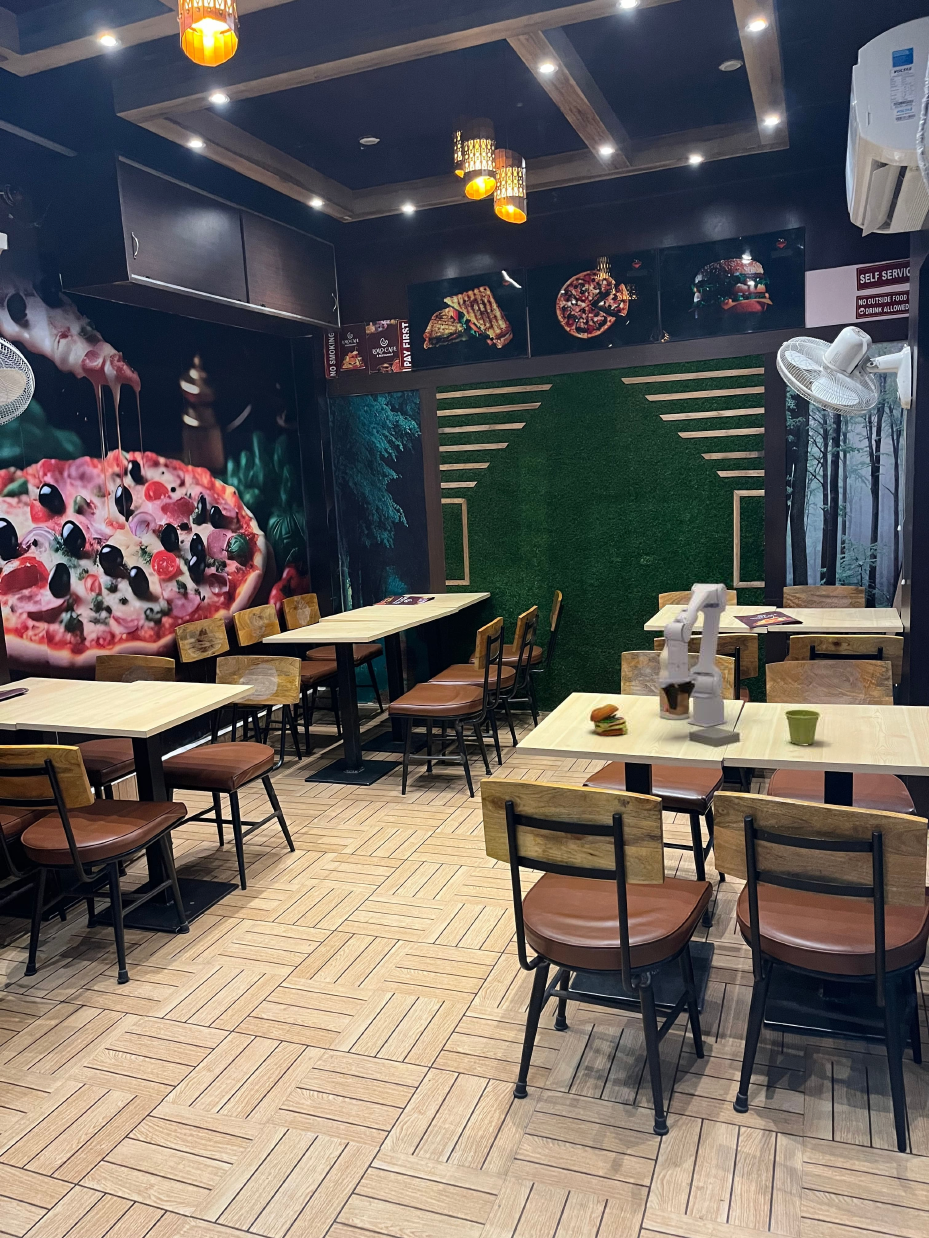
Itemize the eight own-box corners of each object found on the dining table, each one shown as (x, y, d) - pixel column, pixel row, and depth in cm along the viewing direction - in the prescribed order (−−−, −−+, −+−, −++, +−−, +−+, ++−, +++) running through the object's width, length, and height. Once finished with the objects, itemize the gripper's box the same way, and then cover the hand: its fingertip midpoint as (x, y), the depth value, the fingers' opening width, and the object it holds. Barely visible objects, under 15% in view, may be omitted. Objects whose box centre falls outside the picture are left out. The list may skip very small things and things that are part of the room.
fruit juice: (654, 717, 293) (652, 632, 290) (670, 712, 299) (669, 629, 296) (678, 721, 286) (677, 634, 283) (695, 716, 293) (693, 631, 289)
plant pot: (823, 747, 249) (823, 716, 248) (787, 747, 251) (788, 716, 250) (816, 738, 259) (816, 709, 258) (782, 738, 260) (782, 709, 259)
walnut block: (678, 711, 269) (677, 691, 268) (688, 713, 265) (687, 693, 265) (668, 713, 267) (668, 693, 266) (678, 715, 263) (678, 695, 263)
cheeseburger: (621, 738, 268) (613, 705, 268) (590, 743, 274) (581, 711, 274) (633, 729, 277) (625, 698, 277) (602, 735, 282) (594, 704, 282)
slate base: (713, 736, 268) (713, 726, 268) (739, 742, 260) (739, 732, 259) (689, 741, 263) (689, 731, 263) (715, 748, 254) (715, 738, 254)
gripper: (670, 667, 257) (670, 713, 259) (705, 661, 265) (706, 706, 266) (652, 664, 263) (653, 710, 264) (687, 658, 271) (688, 702, 272)
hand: (678, 708), depth 266 cm, fingers closed on walnut block, 4 cm apart
